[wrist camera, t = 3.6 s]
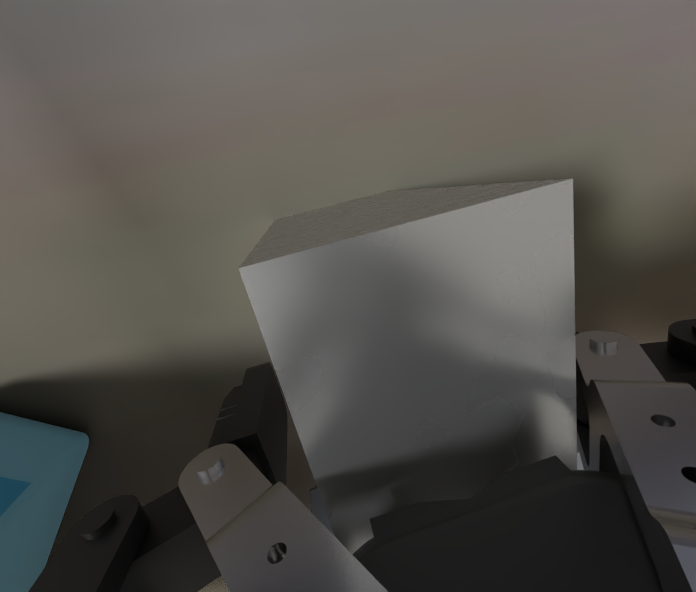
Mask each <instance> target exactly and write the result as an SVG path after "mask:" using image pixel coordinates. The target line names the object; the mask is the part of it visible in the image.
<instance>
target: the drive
mask: <svg viewBox="0 0 696 592" xmlns="http://www.w3.org/2000/svg"><path fill="white" fill-rule="evenodd" d="M239 271H240V274H241V277H242V279H243V282H244V285H245V288H246V291H247V293H248V296H249V299H250V302H251V305H252V307H253V310H254V313H255V316H256V318H257V321H258V324H259V327H260V330H261V332H262V335H263V338H264V341H265V344H266V346H267V349H268V352H269V355H270V357H271V360H272V363H273V366H274V369H275V371H276V374H277V377H278V380H279V382H280V385H281V388H282V391H283V394H284V396H285V399H286V402H287V405H288V408H289V410H290V413H291V416H292V419H293V421H294V424H295V427H296V430H297V433H298V435H299V438H300V441H301V444H302V447H303V449H304V452H305V455H306V458H307V460H308V463H309V466H310V469H311V472H312V474H313V477H314V480H315V483H316V486H317V488H318V491H319V494H320V497H321V499H322V502H323V505H324V508H325V511H326V513H327V516H328V519H329V522H330V525H331V527H332V530H333V533H334V536H335V537H336V538H337V539H338V540H339V541H340V542H341V544H342V545H343V546H344V547H345V548H346V549H347V550H348V551H349V552H350V553H351V554H352V555H353V553H354V552H355V551H356V550H358V549H359V548H360V547H361V546H362V545H363V544H364V543H366V542H367V541H368V540H370V539H371V538H373V537H374V535H373V531H372V527H371V523H370V518H373V517H376V516H379V515H382V514H385V513H388V512H391V511H394V510H397V509H400V508H403V507H406V506H409V505H411V504H414V503H418V502H430V501H442V500H455V499H466V498H471V497H474V496H475V495H477V494H478V493H480V492H481V491H483V490H484V489H486V488H487V487H488V486H490V485H491V484H493V483H494V482H496V481H497V480H498V479H500V478H501V477H503V476H504V475H506V474H507V473H508V472H510V471H511V470H514V469H517V468H520V467H523V466H526V465H529V464H531V463H534V462H537V461H540V460H543V459H546V458H549V457H552V456H555V455H556V456H557V457H558V458H559V459H560V460H561V461H562V462H563V463H564V464H565V465H566V466H567V467H568V468H569V469H570V470H577V416H576V348H575V280H574V212H573V178H572V179H557V180H543V181H528V182H514V183H499V184H485V185H470V186H455V187H441V188H426V189H412V190H397V191H386V192H382V193H378V194H374V195H370V196H367V197H363V198H359V199H355V200H351V201H347V202H343V203H339V204H336V205H332V206H328V207H324V208H320V209H316V210H312V211H309V212H305V213H301V214H297V215H293V216H289V217H285V218H282V219H278V220H275V221H274V222H273V223H272V225H271V226H270V227H269V229H268V230H267V231H266V233H265V234H264V235H263V236H262V238H261V239H260V240H259V242H258V243H257V244H256V246H255V247H254V248H253V250H252V251H251V252H250V254H249V255H248V256H247V258H246V259H245V260H244V262H243V263H242V264H241V266H240V267H239Z"/></svg>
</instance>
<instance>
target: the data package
mask: <svg viewBox="0 0 696 592" xmlns="http://www.w3.org/2000/svg"><path fill="white" fill-rule="evenodd" d="M88 445H89V438H88V436H87V434H85V433H83V432H79V431H75V430H71V429H67V428H63V427H59V426H55V425H50V424H46V423H42V422H38V421H34V420H30V419H26V418H22V417H18V416H14V415H10V414H6V413H1V412H0V592H28V591H29V590H30V588H31V587H32V585H33V584H34V582H35V581H36V580H37V578H38V577H39V575H40V574H41V572H42V571H43V569H44V568H45V566H46V563H47V560H48V557H49V555H50V552H51V549H52V546H53V543H54V541H55V538H56V535H57V532H58V530H59V527H60V524H61V521H62V519H63V516H64V513H65V510H66V508H67V505H68V502H69V499H70V496H71V494H72V491H73V488H74V485H75V483H76V480H77V477H78V474H79V472H80V469H81V466H82V463H83V460H84V458H85V455H86V452H87V449H88Z"/></svg>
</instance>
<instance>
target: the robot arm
mask: <svg viewBox="0 0 696 592" xmlns="http://www.w3.org/2000/svg"><path fill="white" fill-rule="evenodd" d="M575 348H576V416H577V446H578V450H579V453H580V457H581V461H582V464H583V468H584V470H570V469H569V468H568V467H567V466H566V465H565V464H564V463H563V462H562V461H561V460H560V459H559V458H558V457H557V456H556V455H555V456H552V457H549V458H546V459H543V460H540V461H537V462H534V463H531V464H529V465H526V466H523V467H520V468H517V469H514V470H511V471H510V472H508V473H507V474H506V475H504V476H503V477H501V478H500V479H498V480H497V481H496V482H494V483H493V484H491V485H490V486H488V487H487V488H486V489H484V490H483V491H481V492H480V493H478V494H477V495H475V496H474V497H471V498H466V499H455V500H442V501H430V502H418V503H414V504H411V505H409V506H406V507H403V508H400V509H397V510H394V511H391V512H388V513H385V514H382V515H379V516H376V517H373V518H370V523H371V527H372V531H373V535H374V537H373V538H371V539H370V540H368V541H367V542H366V543H364V544H363V545H362V546H361V547H360V548H359V549H358V550H356V551H355V552H354V553H353V555H352V554H351V553H350V552H349V551H348V550H347V549H346V548H345V547H344V546H343V545H342V544H341V542H340V541H339V540H338V539H337V538H336V537H335V536H334V535H333V534H332V533H331V532H330V531H329V530H328V529H327V528H326V527H325V526H324V525H323V524H322V523H321V522H320V521H319V520H318V519H317V518H316V517H315V516H314V515H313V514H312V513H311V512H310V511H309V509H308V508H307V507H306V506H305V505H304V504H303V503H302V502H301V501H300V500H299V499H298V498H297V497H296V496H295V495H294V494H293V493H292V492H291V491H290V490H289V489H288V488H287V487H286V462H287V411H286V406H285V403H284V399H283V397H282V394H281V391H280V388H279V385H278V383H277V380H276V377H275V374H274V371H273V369H272V366H271V364H270V363H269V362H268V363H264V364H261V365H258V366H254V367H251V368H247V369H246V372H245V376H244V380H243V384H242V385H241V386H237V387H234V388H233V389H232V391H231V392H230V393H229V394H228V395H227V396H226V398H225V399H224V402H223V405H222V408H221V412H220V414H219V417H218V421H217V422H216V425H215V428H214V431H213V434H212V437H211V440H210V443H209V446H208V449H207V450H205V451H203V452H202V453H200V454H199V455H198V456H196V457H195V458H194V459H193V460H192V461H191V462H190V463H189V464H188V465H187V466H186V467H185V468H184V470H183V472H182V473H181V475H180V478H179V483H178V485H179V486H178V487H177V488H175V489H174V490H172V491H170V492H169V493H167V494H165V495H163V496H161V497H160V498H158V499H156V500H154V501H152V502H151V503H149V504H147V505H145V506H143V507H142V506H141V504H140V502H139V501H138V499H137V498H136V497H135V496H133V495H122V496H118V497H115V498H113V499H110V500H108V501H106V502H104V503H103V504H101V505H99V506H98V507H96V508H95V509H93V510H92V511H91V512H89V513H88V514H87V515H86V516H84V517H83V518H82V519H81V520H80V521H79V522H78V523H77V524H76V525H75V526H74V527H73V528H72V529H71V531H70V532H69V533H68V535H67V536H66V537H65V539H64V540H63V542H62V543H61V545H60V546H59V547H58V549H57V550H56V552H55V553H54V555H53V556H52V558H51V559H50V561H49V562H48V563H47V565H46V566H45V568H44V569H43V571H42V572H41V574H40V575H39V577H38V578H37V580H36V581H35V582H34V584H33V585H32V587H31V588H30V590H29V591H28V592H197V591H199V590H200V589H202V588H203V587H205V586H206V585H207V584H209V583H210V582H212V581H213V580H215V579H216V578H218V577H219V576H220V575H222V577H223V579H224V581H225V583H226V585H227V587H228V589H229V591H230V592H696V319H692V320H683V321H678V322H675V323H673V324H671V325H670V326H669V330H668V341H666V342H656V343H646V344H639V343H638V342H637V341H636V340H634V339H633V338H631V337H629V336H627V335H624V334H620V333H616V332H611V331H586V332H582V333H578V332H576V331H575Z"/></svg>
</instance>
